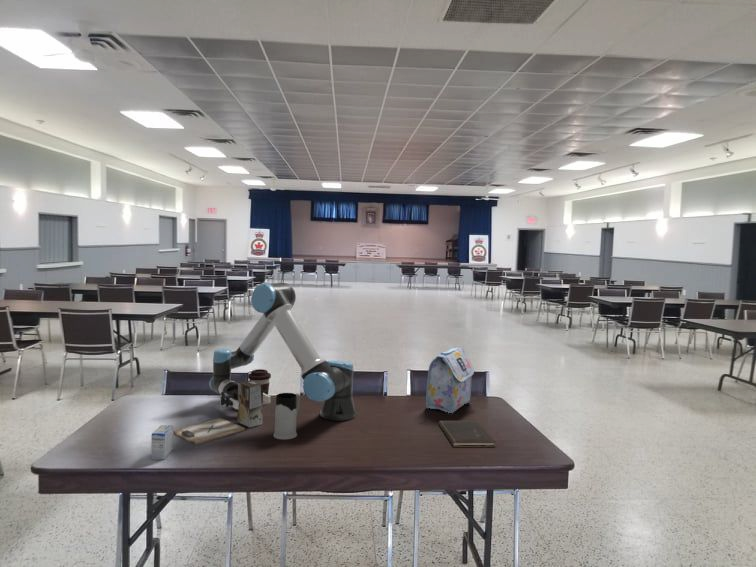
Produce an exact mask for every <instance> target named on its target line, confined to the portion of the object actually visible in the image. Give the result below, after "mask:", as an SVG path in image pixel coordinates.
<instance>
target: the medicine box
mask: <svg viewBox="0 0 756 567" xmlns="http://www.w3.org/2000/svg"><path fill="white" fill-rule="evenodd" d="M174 426H175V425H171V424H166V425H165V424H161V425H160V426H158V428H157V429H155V430H154V431H153V432H152V433H151V439H150V440H151V444H150V445H151V446H150V447H151V449H150V459H151V460H152V461H153V460H156V461H157V460H158V461H160V460H161V461H164V460H166V458H167V457H168V456H169V455H170V453H171V452H172V451H173V450H174V435H175V434H174V430H175V427H174Z"/></svg>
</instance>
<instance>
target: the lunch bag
mask: <svg viewBox="0 0 756 567" xmlns="http://www.w3.org/2000/svg"><path fill="white" fill-rule="evenodd" d="M474 373H475V368H474V366H473V365H472V363H471V361H470V359H469V358H468V355H467V354H466V351H465V349H464V347H454V348H449V349H448V350H447V351H440V354H439V355H436V357H435V358H433V359H432V360H431V362H430V363H429V366H428V371H427V379H426V380H427V381H426V392H425V394H426V396H425V405H426V406H425V407H426V408H427V409H429V408H430V410H431V409H433V410H440V411H443V412H445V413H447V412H448V413H447V414H449V413H452V414H453V413H455V412H456V411H457V410H458V409H460V408H462V407H463V406H465V405H466V404H468V403H470V400H471V395H472V393H471V392H472V378H473V377H472V376H473V375H474ZM464 404H465V405H464Z"/></svg>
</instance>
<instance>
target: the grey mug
mask: <svg viewBox="0 0 756 567" xmlns="http://www.w3.org/2000/svg"><path fill="white" fill-rule="evenodd" d="M300 404H301V396H300V394H299V393H292V392H281V393H277V394H276V396H275V407H274V408H275V409H274V410H275V412H274V433H273V434H272V435H273V437H274V439H277V440H291V439H294V438H296V437H297V436H298V433H297V414H298V412H299V409H300Z"/></svg>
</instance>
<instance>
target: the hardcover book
mask: <svg viewBox="0 0 756 567" xmlns="http://www.w3.org/2000/svg"><path fill="white" fill-rule="evenodd" d="M439 425H440V426H439ZM438 426H439V428H440V427H441V428H442V429H441V428H440V429H441V430H443V431H444V432H443V431H442V432H443V434H444V433H445V434H446V435H445V434H444V435H445V437H446V436H447V437H448V438H447V437H446V438H447V440H448V439H449V440H448V441H449V443H450V442H451V443H452V444H451V443H450V444H451V446H452V445H493V444H494V445H495V444H496V443H497V441H496V440H494V438H493V437H492V436H491V435H490V434H489V433H488V432H487V431H486V429H485V428H484V427H483V426H482V424H480V423H479V422H478V421H477V420H439V421H438Z"/></svg>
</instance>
